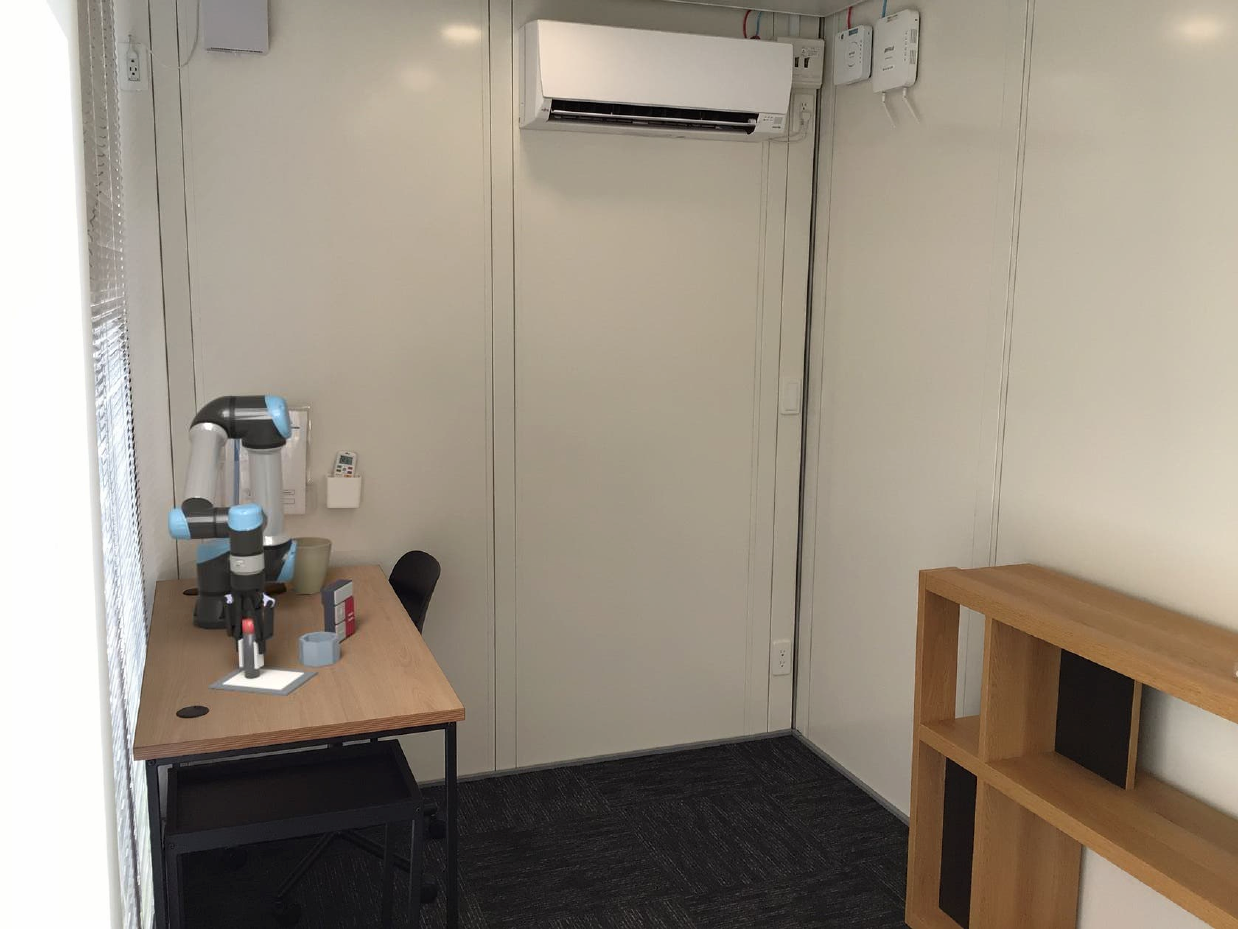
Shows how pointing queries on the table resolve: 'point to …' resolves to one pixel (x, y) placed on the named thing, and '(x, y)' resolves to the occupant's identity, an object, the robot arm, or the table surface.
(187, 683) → the table surface
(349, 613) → the grey and red block
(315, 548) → the plant pot
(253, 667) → the marker
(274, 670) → the writing pad
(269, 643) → the table surface
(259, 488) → the robot arm
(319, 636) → the pen cup
